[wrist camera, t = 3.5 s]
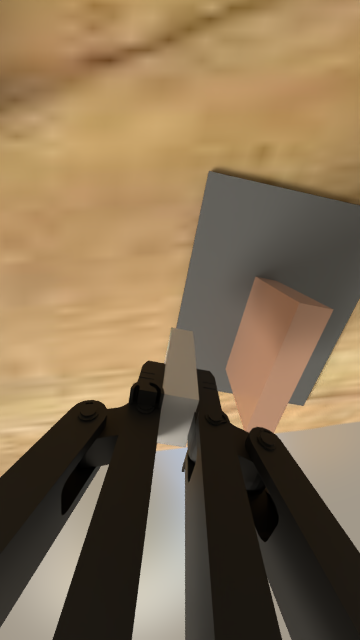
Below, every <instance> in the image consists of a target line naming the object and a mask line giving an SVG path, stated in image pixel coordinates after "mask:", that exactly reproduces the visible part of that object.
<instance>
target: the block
mask: <svg viewBox="0 0 360 640" xmlns="http://www.w3.org/2000/svg"><path fill="white" fill-rule="evenodd" d="M332 312H333V309H331V308H329V307H327V306H325V305H323V304H321V303H319V302H318V301H316V300H314V299H312V298H310V297H308V296H306V295H304V294H302V293H300V292H298V291H296V290H294V289H292V288H290V287H288V286H286V285H284V284H282V283H280V282H278V281H275V280H270V279H265V278H260V277H255V280H254V283H253V286H252V289H251V292H250V295H249V298H248V301H247V304H246V307H245V310H244V313H243V316H242V320H241V323H240V326H239V329H238V332H237V335H236V338H235V341H234V344H233V347H232V350H231V353H230V356H229V360H228V363H227V366H226V372H227V376H228V379H229V382H230V385H231V389H232V392H233V395H234V398H235V402H236V405H237V408H238V411H239V415H240V418H241V421H242V425H243V428H244V431H247V432H250V431H251V429H252V428H255V427H263V428H265V429H268V430H270V431H271V432H273V433H274V431H275V429H276V427H277V425H278V423H279V421H280V419H281V417H282V415H283V413H284V411H285V408H286V406H287V404H288V402H289V400H290V398H291V396H292V394H293V392H294V390H295V388H296V386H297V384H298V382H299V380H300V378H301V376H302V373H303V371H304V369H305V367H306V365H307V363H308V361H309V359H310V357H311V355H312V353H313V351H314V349H315V347H316V345H317V343H318V341H319V339H320V336H321V334H322V332H323V330H324V328H325V326H326V324H327V322H328V320H329V318H330V316H331V314H332Z"/></svg>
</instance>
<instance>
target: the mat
mask: <svg viewBox="0 0 360 640" xmlns="http://www.w3.org/2000/svg"><path fill="white" fill-rule="evenodd" d="M255 277H260V278H265V279H270V280H275V281H278V282H280V283H282V284H284V285H286V286H288V287H290V288H292V289H294V290H296V291H298V292H300V293H302V294H304V295H306V296H308V297H310V298H312V299H314V300H316V301H318V302H319V303H321V304H323V305H325V306H327V307H329V308H331V309H333V312H332V314H331V316H330V318H329V320H328V322H327V324H326V326H325V328H324V330H323V332H322V334H321V336H320V339H319V341H318V343H317V345H316V347H315V349H314V351H313V353H312V355H311V357H310V359H309V361H308V363H307V365H306V367H305V369H304V371H303V373H302V376H301V378H300V380H299V382H298V384H297V386H296V388H295V390H294V392H293V394H292V396H291V398H290V400H289V402H288V403H290V404H296V405H301V406H304V404H305V402H306V400H307V398H308V396H309V394H310V392H311V390H312V388H313V386H314V384H315V383H316V381H317V379H318V377H319V375H320V373H321V371H322V369H323V367H324V365H325V363H326V361H327V360H328V358H329V356H330V354H331V352H332V350H333V348H334V346H335V344H336V342H337V340H338V339H339V337H340V335H341V333H342V331H343V329H344V327H345V325H346V323H347V321H348V319H349V317H350V316H351V314H352V312H353V310H354V308H355V306H356V304H357V302H358V300H359V298H360V205H355V204H351V203H347V202H342V201H338V200H333V199H329V198H325V197H320V196H316V195H312V194H307V193H303V192H299V191H294V190H290V189H285V188H281V187H277V186H272V185H268V184H264V183H259V182H255V181H251V180H246V179H242V178H237V177H233V176H229V175H224V174H220V173H216V172H211V171H209V173H208V178H207V182H206V187H205V192H204V197H203V202H202V206H201V211H200V216H199V221H198V226H197V231H196V235H195V240H194V245H193V250H192V255H191V259H190V264H189V269H188V274H187V279H186V284H185V288H184V293H183V298H182V303H181V308H180V312H179V317H178V322H177V327H176V329H182V330H187V331H192V332H193V337H194V349H195V360H196V369H201V370H207V371H210V372H211V373H212V374H213V376H214V377H215V381H216V385H217V391H220V392H226V393H232V394H233V392H232V389H231V385H230V382H229V379H228V376H227V372H226V366H227V363H228V360H229V356H230V353H231V350H232V347H233V344H234V341H235V338H236V335H237V332H238V329H239V326H240V323H241V320H242V316H243V313H244V310H245V307H246V304H247V301H248V298H249V295H250V292H251V289H252V286H253V283H254V280H255Z"/></svg>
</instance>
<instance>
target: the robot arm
mask: <svg viewBox="0 0 360 640" xmlns="http://www.w3.org/2000/svg"><path fill="white" fill-rule="evenodd" d="M187 440H188V450H187V453H186V457H185V460H184V463H183V467H182V472H184V471H185V640H282V638H281V634H280V629H279V625H278V621H277V616H276V613H275V608H274V604H273V600H272V596H271V591H270V587H269V584H268V581H269V583H270V586H271V588H272V591H273V593H274V596H275V598H276V601H277V604H278V606H279V608H280V611H281V614H282V616H283V619H284V621H285V624H286V627H287V629H288V631H289V634H290V637H291V639H292V640H360V553H359V551H358V550H357V549H356V547H355V546H354V544H353V543H352V541H351V540H350V538H349V537H348V536H347V534H346V533H345V531H344V530H343V528H342V527H341V526H340V524H339V523H338V521H337V520H336V518H335V517H334V516H333V514H332V513H331V511H330V510H329V509H328V507H327V506H326V504H325V503H324V501H323V500H322V499H321V497H320V496H319V494H318V493H317V491H316V490H315V488H314V487H313V486H312V484H311V483H310V481H309V480H308V479H307V477H306V476H305V474H304V473H303V471H302V470H301V468H300V467H299V466H298V464H297V463H296V461H295V460H294V459H293V457H292V456H291V454H290V453H289V451H288V450H287V448H286V447H285V446H284V444H283V443H282V442H281V440H280V439H279V438H278V437H277V435H275V434H274V433H273V432H271V431H270V430H268V429H265V428H263V427H255V428H252V429H251V431H250V432H247V431H244V430H242V429H240V428H238V427H236V426H234V425H232V424H231V423H230V421H229V419H228V416H227V415H226V414H225V413H224V412H223V411H222V409H221V404H220V400H219V395H218V391H217V385H216V381H215V377H214V376H213V374H212V373H211V372H210V371H207V370H201V369H196V360H195V349H194V337H193V332H192V331H187V330H182V329H176V328H171V332H170V337H169V342H168V347H167V352H166V357H165V362H164V363H158V362H153V361H147V362H146V363H145V364H144V365H143V366H142V369H141V373H140V376H139V379H138V382H136V383H134V384H133V386H132V387H131V391H130V398H129V403H128V404H126V405H124V406H122V407H118V408H111V409H107V408H106V407H105V405H104V404H103V403H101V402H99V401H95V400H87V401H83V402H80V403H78V404H76V405H75V406H74V407H72V408H71V409H70V410H69V411H68V412H67V413H66V414H65V415H64V416H63V417H62V418H61V419H60V420H59V421H58V422H57V423H56V424H55V425H54V426H53V427H52V428H51V429H50V430H49V431H48V432H47V433H46V434H45V435H44V436H43V437H41V438H40V439H39V440H38V441H37V442H36V443H35V444H34V445H33V446H32V447H31V448H30V449H29V450H28V451H27V452H26V453H25V454H24V455H23V456H22V457H21V458H20V459H19V460H18V461H17V462H16V463H15V464H14V465H13V466H12V467H11V468H10V469H9V470H8V471H7V472H6V473H4V474H3V475H2V476H1V477H0V627H1V626H2V624H3V622H4V621H5V619H6V618H7V616H8V614H9V612H10V611H11V610H12V608H13V606H14V605H15V603H16V601H17V600H18V598H19V597H20V595H21V594H22V592H23V590H24V589H25V587H26V585H27V584H28V582H29V580H30V579H31V577H32V576H33V574H34V573H35V571H36V569H37V568H38V566H39V565H40V563H41V561H42V560H43V558H44V557H45V555H46V553H47V552H48V550H49V549H50V547H51V545H52V544H53V542H54V541H55V539H56V537H57V536H58V534H59V533H60V531H61V529H62V528H63V526H64V525H65V523H66V521H67V520H68V518H69V517H70V515H71V513H72V512H73V510H74V509H75V507H76V505H77V504H78V502H79V501H80V499H81V497H82V496H83V494H84V493H85V491H86V489H87V488H88V486H89V484H90V483H91V481H92V480H93V478H94V477H95V475H96V473H97V472H98V470H99V469H100V467H101V466H103V465H108V464H109V467H108V470H107V473H106V476H105V479H104V482H103V485H102V488H101V492H100V494H99V498H98V501H97V504H96V507H95V510H94V513H93V516H92V519H91V522H90V526H89V528H88V532H87V535H86V538H85V541H84V544H83V547H82V550H81V553H80V556H79V560H78V563H77V566H76V569H75V572H74V575H73V578H72V581H71V584H70V587H69V591H68V594H67V597H66V600H65V603H64V607H63V609H62V612H61V615H60V618H59V622H58V625H57V628H56V631H55V634H54V637H53V640H132V632H133V624H134V617H135V609H136V602H137V594H138V585H139V578H140V570H141V563H142V555H143V547H144V539H145V531H146V524H147V516H148V507H149V500H150V492H151V485H152V477H153V469H154V460H155V453H156V445H157V443H161V444H167V445H173V446H180V447H186V443H187ZM267 578H268V579H267Z"/></svg>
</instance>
